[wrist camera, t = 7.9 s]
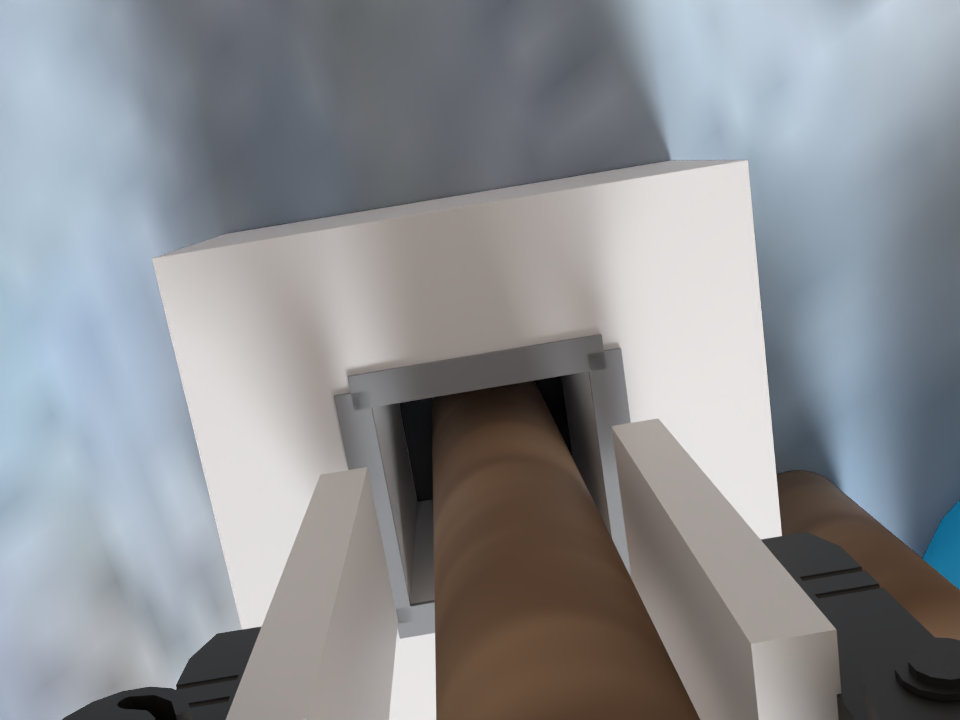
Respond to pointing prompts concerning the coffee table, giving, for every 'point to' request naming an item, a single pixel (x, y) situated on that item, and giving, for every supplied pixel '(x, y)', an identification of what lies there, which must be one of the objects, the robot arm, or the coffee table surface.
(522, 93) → the coffee table surface
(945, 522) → the mug
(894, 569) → the short dowel
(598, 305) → the hole block
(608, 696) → the long dowel
